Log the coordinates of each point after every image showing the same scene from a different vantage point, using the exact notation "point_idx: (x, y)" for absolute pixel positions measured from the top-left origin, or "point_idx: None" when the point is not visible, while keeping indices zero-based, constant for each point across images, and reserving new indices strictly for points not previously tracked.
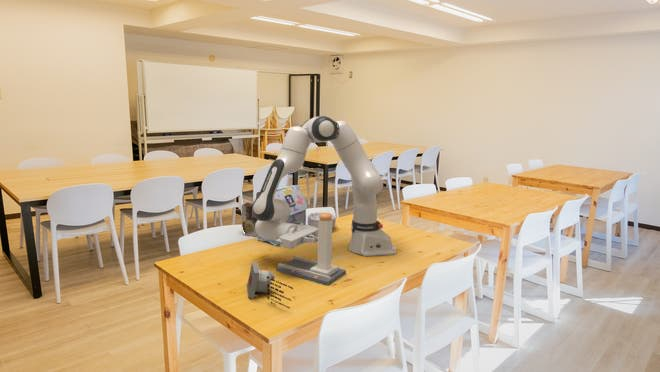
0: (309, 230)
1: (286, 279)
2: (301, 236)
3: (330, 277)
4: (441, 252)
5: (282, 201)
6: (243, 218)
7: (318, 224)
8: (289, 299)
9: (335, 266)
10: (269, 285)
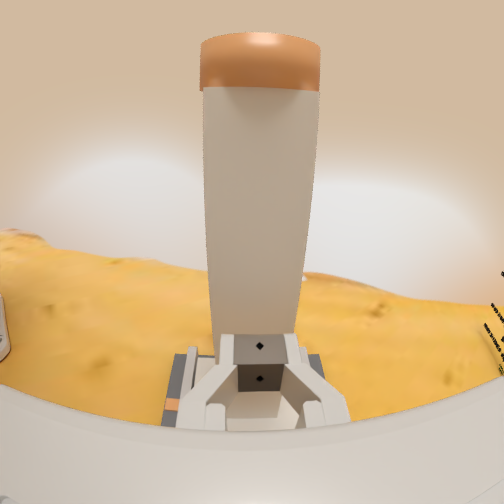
0: (81, 463)
1: None
2: (387, 416)
3: (301, 347)
4: (4, 247)
5: None
6: None
7: (315, 143)
8: (494, 306)
9: (206, 365)
10: None
